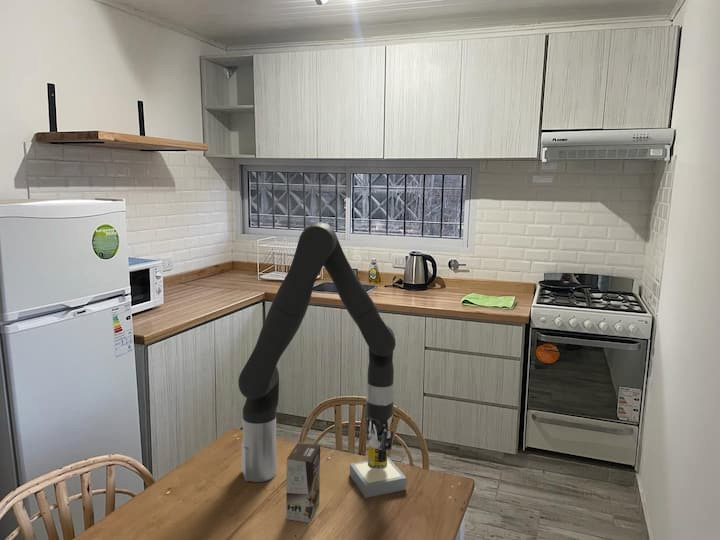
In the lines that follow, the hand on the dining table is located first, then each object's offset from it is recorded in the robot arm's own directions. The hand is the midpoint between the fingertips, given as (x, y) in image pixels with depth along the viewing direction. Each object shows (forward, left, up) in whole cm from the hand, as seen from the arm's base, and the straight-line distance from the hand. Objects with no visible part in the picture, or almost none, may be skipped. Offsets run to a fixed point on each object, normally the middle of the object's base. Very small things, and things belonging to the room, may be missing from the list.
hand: (377, 456), depth 149 cm
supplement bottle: (0, 0, -3) cm, 3 cm away
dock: (0, 0, -8) cm, 8 cm away
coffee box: (-23, -6, -8) cm, 25 cm away
